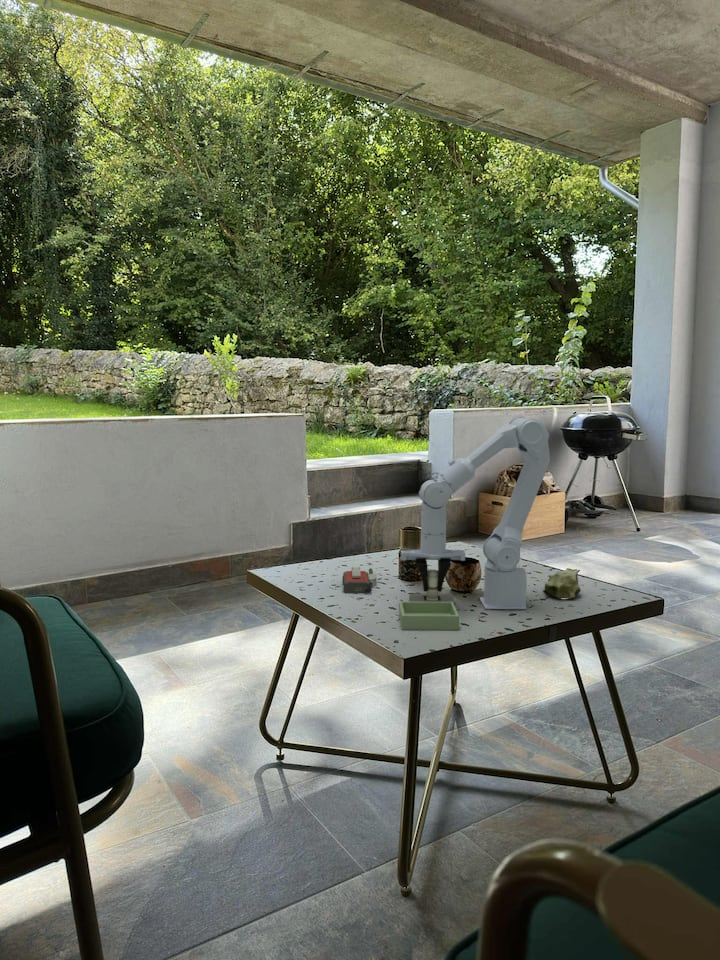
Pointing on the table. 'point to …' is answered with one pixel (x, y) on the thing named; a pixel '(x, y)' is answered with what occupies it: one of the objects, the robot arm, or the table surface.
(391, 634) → the table surface
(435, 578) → the cylinder
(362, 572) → the red belt-clip case
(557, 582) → the green rock
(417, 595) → the fuse block
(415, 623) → the parts tray
